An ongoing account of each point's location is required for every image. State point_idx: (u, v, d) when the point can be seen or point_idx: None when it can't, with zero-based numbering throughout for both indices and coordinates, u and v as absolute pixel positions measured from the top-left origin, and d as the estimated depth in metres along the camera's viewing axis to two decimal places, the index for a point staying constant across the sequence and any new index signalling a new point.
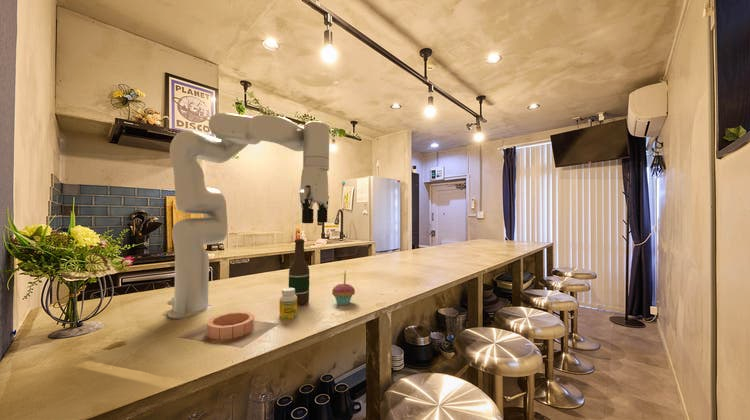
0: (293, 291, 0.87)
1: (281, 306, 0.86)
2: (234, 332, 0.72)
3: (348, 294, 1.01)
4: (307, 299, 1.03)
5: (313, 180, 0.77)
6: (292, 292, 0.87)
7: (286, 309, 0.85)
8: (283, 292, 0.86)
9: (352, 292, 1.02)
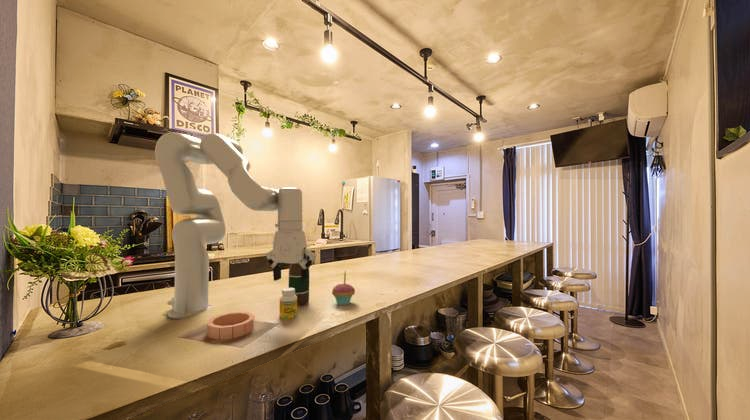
0: (293, 291, 0.87)
1: (281, 306, 0.86)
2: (234, 332, 0.72)
3: (348, 294, 1.01)
4: (307, 299, 1.03)
5: None
6: (292, 292, 0.87)
7: (286, 309, 0.85)
8: (283, 292, 0.86)
9: (352, 292, 1.02)
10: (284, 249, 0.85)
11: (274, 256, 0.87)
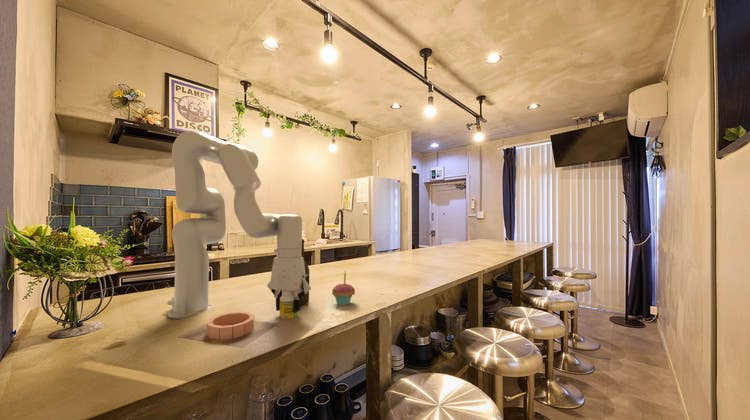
0: None
1: (281, 306, 0.86)
2: (234, 332, 0.72)
3: (348, 294, 1.01)
4: (307, 299, 1.03)
5: (304, 269, 0.88)
6: (292, 292, 0.87)
7: (286, 309, 0.85)
8: (283, 292, 0.86)
9: (352, 292, 1.02)
10: (283, 277, 0.85)
11: (272, 283, 0.86)
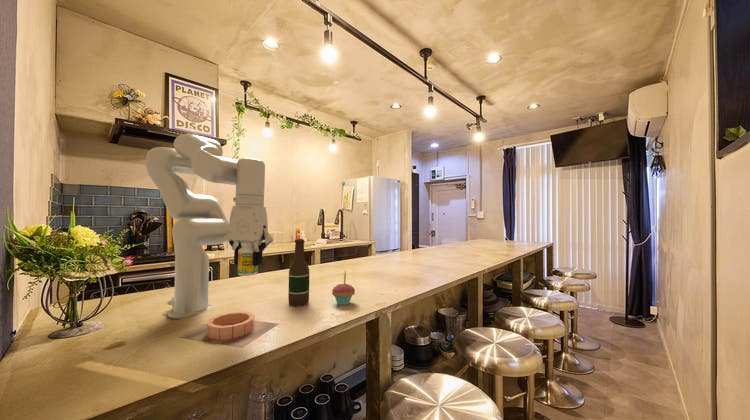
0: None
1: (239, 258, 0.78)
2: (234, 332, 0.72)
3: (348, 294, 1.01)
4: (307, 299, 1.03)
5: (266, 220, 0.80)
6: (252, 244, 0.79)
7: (245, 262, 0.77)
8: (242, 243, 0.78)
9: (352, 292, 1.02)
10: (241, 226, 0.77)
11: (230, 233, 0.78)
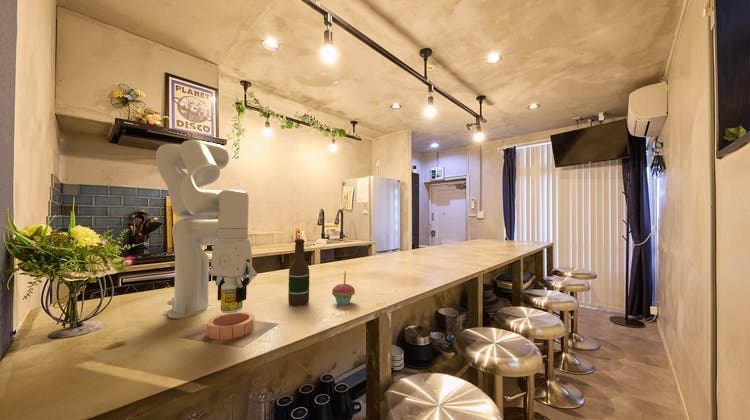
0: None
1: (222, 295, 0.75)
2: (234, 332, 0.72)
3: (348, 294, 1.01)
4: (307, 299, 1.03)
5: (250, 253, 0.77)
6: (235, 279, 0.76)
7: (227, 298, 0.74)
8: (225, 279, 0.75)
9: (352, 292, 1.02)
10: (224, 261, 0.74)
11: (212, 268, 0.75)
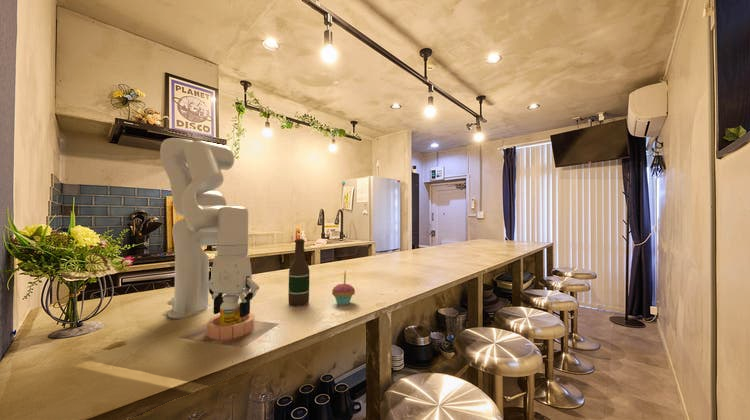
0: (236, 297, 0.76)
1: (221, 315, 0.75)
2: (234, 332, 0.72)
3: (348, 294, 1.01)
4: (307, 299, 1.03)
5: (250, 269, 0.77)
6: (234, 299, 0.76)
7: (226, 319, 0.74)
8: (224, 299, 0.75)
9: (352, 292, 1.02)
10: (223, 278, 0.74)
11: (212, 285, 0.75)
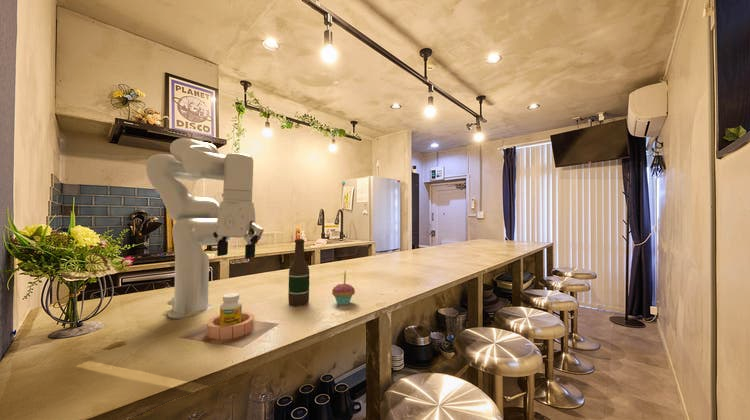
0: (236, 297, 0.76)
1: (221, 315, 0.75)
2: (234, 332, 0.72)
3: (348, 294, 1.01)
4: (307, 299, 1.03)
5: (254, 215, 0.80)
6: (234, 299, 0.76)
7: (226, 319, 0.74)
8: (224, 299, 0.75)
9: (352, 292, 1.02)
10: (228, 221, 0.77)
11: (218, 229, 0.78)
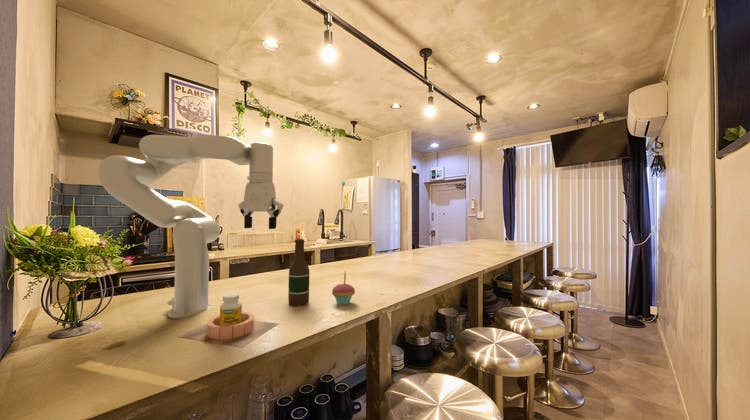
0: (236, 297, 0.76)
1: (221, 315, 0.75)
2: (234, 332, 0.72)
3: (348, 294, 1.01)
4: (307, 299, 1.03)
5: (275, 194, 0.96)
6: (234, 299, 0.76)
7: (226, 319, 0.74)
8: (224, 299, 0.75)
9: (352, 292, 1.02)
10: (254, 198, 0.93)
11: (245, 205, 0.94)
